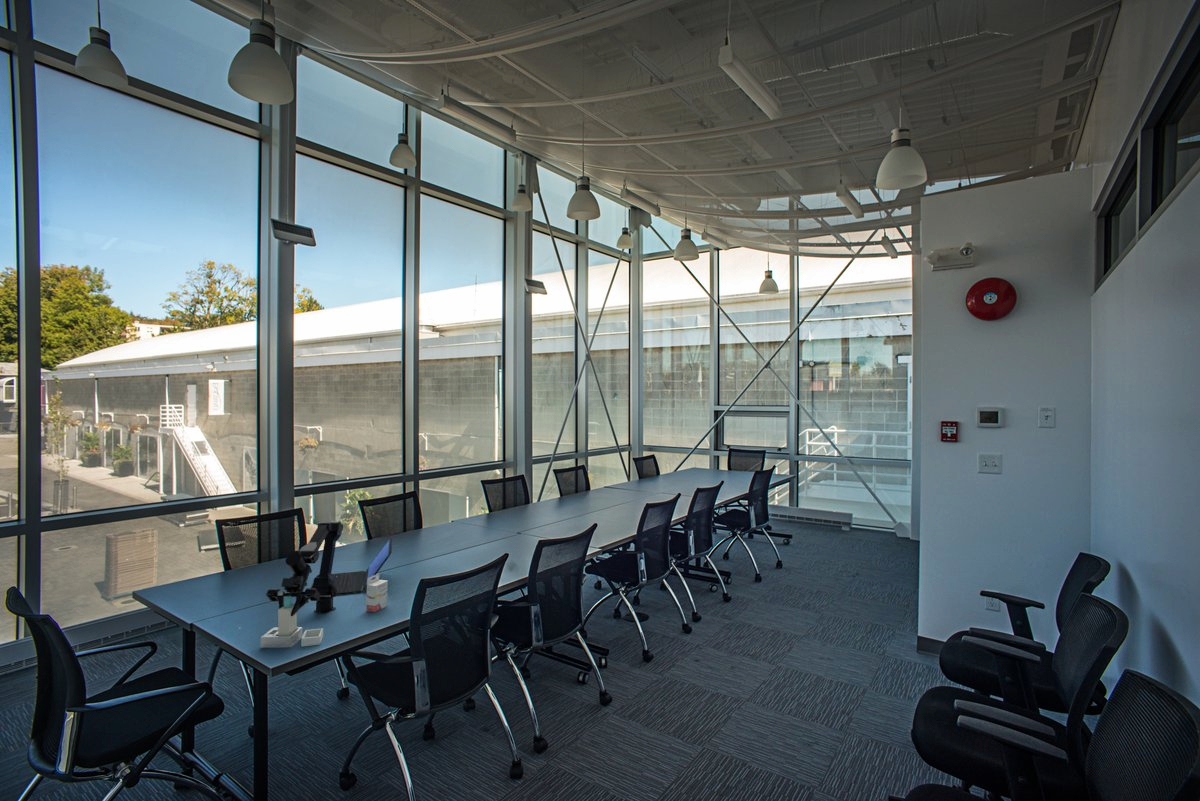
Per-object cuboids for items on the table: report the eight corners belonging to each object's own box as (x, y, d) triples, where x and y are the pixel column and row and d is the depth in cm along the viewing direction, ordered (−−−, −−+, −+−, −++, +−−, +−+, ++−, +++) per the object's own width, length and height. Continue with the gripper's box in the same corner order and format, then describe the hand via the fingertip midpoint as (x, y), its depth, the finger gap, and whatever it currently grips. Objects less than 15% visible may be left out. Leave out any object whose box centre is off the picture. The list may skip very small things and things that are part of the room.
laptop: (316, 578, 299) (316, 541, 299) (392, 571, 311) (392, 536, 311) (306, 599, 268) (306, 558, 267) (391, 591, 280) (391, 551, 280)
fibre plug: (296, 629, 223) (296, 594, 223) (288, 636, 217) (288, 599, 217) (286, 629, 223) (286, 594, 223) (278, 636, 217) (278, 599, 217)
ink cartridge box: (375, 612, 251) (375, 579, 251) (366, 611, 252) (366, 578, 252) (388, 605, 259) (388, 573, 259) (378, 604, 260) (378, 572, 260)
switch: (302, 637, 225) (302, 626, 225) (290, 647, 215) (290, 636, 215) (273, 637, 224) (273, 627, 224) (260, 647, 215) (260, 636, 215)
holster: (323, 635, 226) (323, 628, 226) (320, 644, 218) (320, 636, 218) (305, 637, 224) (305, 630, 224) (301, 646, 216) (301, 638, 216)
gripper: (268, 568, 223) (252, 606, 212) (316, 568, 224) (303, 606, 213) (278, 582, 231) (263, 619, 220) (325, 581, 232) (313, 619, 221)
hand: (285, 615), depth 219 cm, fingers closed on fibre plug, 4 cm apart
